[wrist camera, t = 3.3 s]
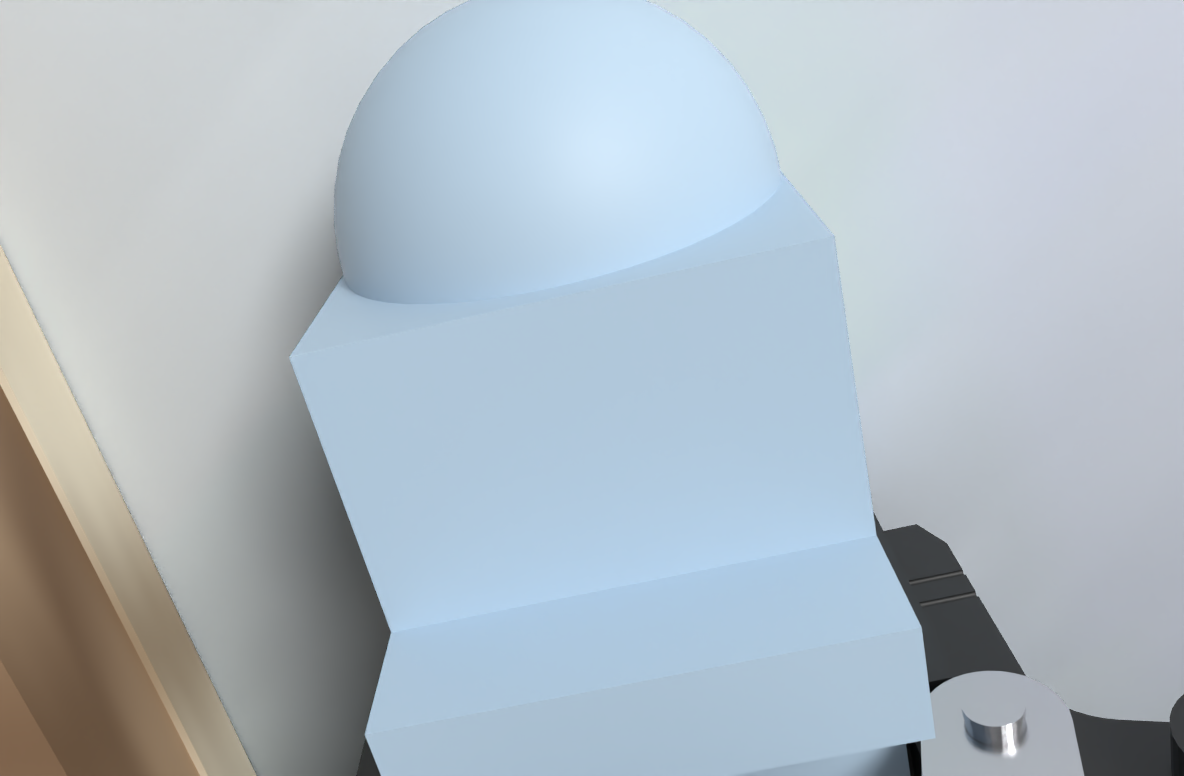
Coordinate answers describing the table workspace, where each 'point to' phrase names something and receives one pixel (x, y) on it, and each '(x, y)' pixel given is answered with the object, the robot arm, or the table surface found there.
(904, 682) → the light blue stepped block
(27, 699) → the jig
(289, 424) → the table surface
